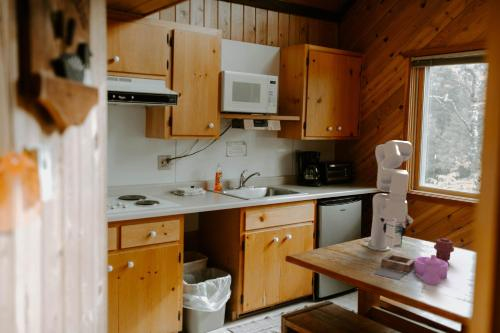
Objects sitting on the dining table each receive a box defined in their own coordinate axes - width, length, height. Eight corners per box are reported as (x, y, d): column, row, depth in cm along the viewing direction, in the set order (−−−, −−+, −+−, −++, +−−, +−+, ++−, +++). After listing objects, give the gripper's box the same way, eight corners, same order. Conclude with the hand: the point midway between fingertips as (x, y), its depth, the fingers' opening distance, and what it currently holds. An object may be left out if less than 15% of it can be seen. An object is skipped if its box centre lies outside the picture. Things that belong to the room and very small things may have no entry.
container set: (413, 267, 248) (416, 242, 247) (445, 272, 243) (448, 246, 242) (413, 282, 225) (416, 255, 223) (448, 288, 220) (451, 260, 218)
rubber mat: (373, 274, 233) (373, 273, 233) (381, 267, 243) (381, 267, 243) (399, 280, 227) (399, 279, 227) (405, 273, 237) (406, 272, 237)
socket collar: (381, 267, 245) (381, 259, 244) (389, 260, 256) (389, 253, 256) (408, 273, 238) (409, 265, 237) (415, 266, 249) (416, 259, 249)
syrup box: (392, 248, 230) (395, 218, 228) (383, 245, 235) (386, 215, 233) (401, 247, 232) (404, 218, 231) (392, 244, 238) (395, 215, 236)
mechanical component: (450, 259, 265) (454, 265, 255) (431, 257, 267) (434, 263, 257) (452, 237, 264) (456, 242, 254) (433, 235, 265) (436, 240, 256)
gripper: (377, 195, 232) (373, 231, 234) (414, 201, 223) (410, 238, 225) (382, 194, 238) (378, 229, 241) (418, 199, 229) (414, 235, 231)
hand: (394, 233), depth 233 cm, fingers closed on syrup box, 7 cm apart
